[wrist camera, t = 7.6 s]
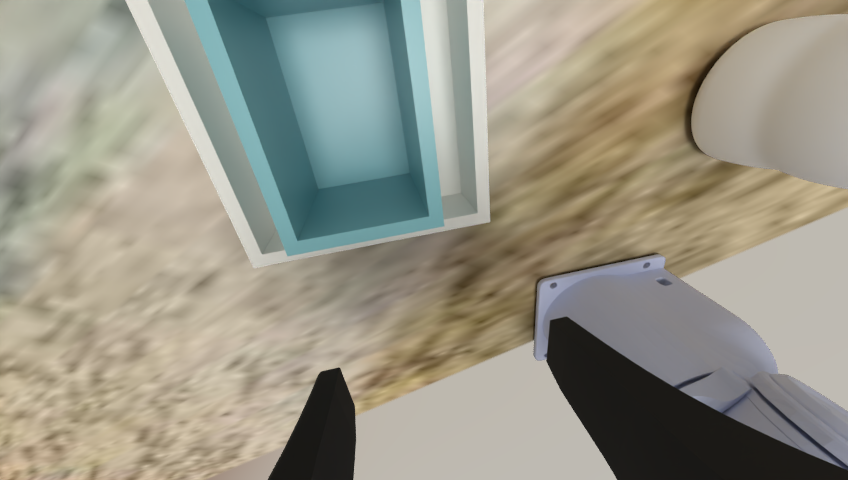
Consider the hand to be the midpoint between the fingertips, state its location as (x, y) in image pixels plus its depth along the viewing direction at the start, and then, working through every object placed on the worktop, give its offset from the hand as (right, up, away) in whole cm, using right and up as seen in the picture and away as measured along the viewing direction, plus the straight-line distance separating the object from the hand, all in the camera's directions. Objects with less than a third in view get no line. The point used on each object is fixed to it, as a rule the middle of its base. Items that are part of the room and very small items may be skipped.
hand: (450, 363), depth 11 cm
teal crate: (-4, +10, +4) cm, 12 cm away
